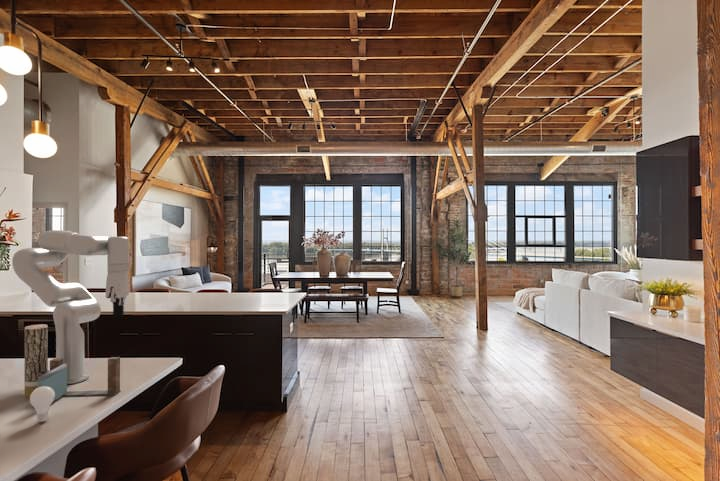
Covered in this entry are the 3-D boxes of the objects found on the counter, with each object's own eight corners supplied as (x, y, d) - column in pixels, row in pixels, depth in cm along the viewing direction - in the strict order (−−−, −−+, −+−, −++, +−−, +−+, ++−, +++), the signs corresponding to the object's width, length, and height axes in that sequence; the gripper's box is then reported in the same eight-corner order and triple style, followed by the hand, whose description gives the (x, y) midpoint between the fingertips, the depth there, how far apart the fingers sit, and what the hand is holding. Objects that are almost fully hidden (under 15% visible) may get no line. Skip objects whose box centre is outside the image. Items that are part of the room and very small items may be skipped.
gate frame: (48, 397, 160) (48, 361, 160) (55, 393, 164) (55, 358, 164) (115, 395, 162) (115, 359, 162) (120, 391, 166) (120, 356, 166)
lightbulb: (38, 418, 141) (38, 383, 141) (59, 417, 141) (59, 383, 141) (24, 426, 134) (24, 390, 134) (47, 426, 135) (47, 389, 135)
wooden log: (22, 399, 157) (22, 328, 157) (26, 393, 163) (26, 325, 163) (46, 396, 161) (46, 326, 161) (48, 390, 167) (49, 323, 167)
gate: (62, 391, 163) (62, 363, 163) (68, 391, 163) (68, 363, 163) (37, 407, 147) (37, 376, 147) (43, 407, 147) (43, 376, 147)
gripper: (117, 267, 180) (117, 312, 180) (98, 269, 165) (98, 319, 165) (136, 267, 181) (136, 312, 181) (119, 269, 166) (119, 319, 166)
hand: (118, 315), depth 173 cm, fingers closed
